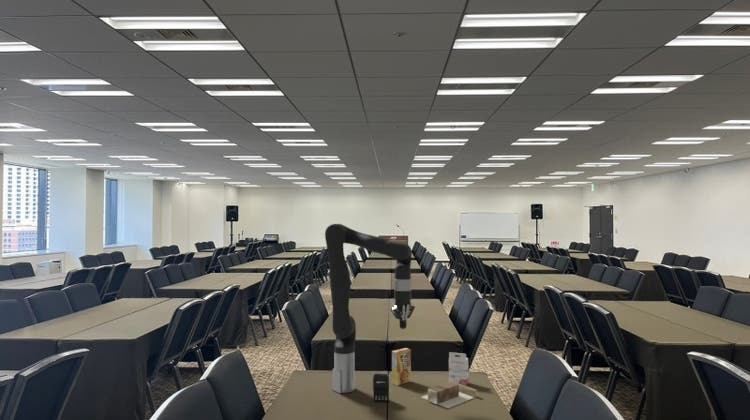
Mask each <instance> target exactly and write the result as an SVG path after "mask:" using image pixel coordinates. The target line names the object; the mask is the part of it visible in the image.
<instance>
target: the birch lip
mask: <svg viewBox="0 0 750 420" xmlns="http://www.w3.org/2000/svg"><path fill="white" fill-rule="evenodd" d="M448 382H453V381H449V380H448ZM453 383H455V384H458V383H456V382H453ZM458 385H459V392H461V393H463V394H466V395H469V396H472V397H474V398H473V399H476V398H478V389H475V388H472V387H469V386H468V385H467V386H464V385H461V384H458Z"/></svg>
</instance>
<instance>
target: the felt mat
mask: <svg viewBox="0 0 750 420" xmlns="http://www.w3.org/2000/svg"><path fill="white" fill-rule="evenodd" d="M421 399H423V400H426V401H428V394H425V395H423V396H421ZM473 399H475V398H474V397H472V396H469V395H466V394H463V393H461V392H459V396H458V397H456V398H453V399H450V400H447V401H445V402H442V403H439V404H437V405H438V406H440V407H443V408H446V409H450V408H452V407H455V406H458V405H461V404H462V403H465V402H468V401H470V400H473Z"/></svg>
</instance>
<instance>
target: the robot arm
mask: <svg viewBox="0 0 750 420" xmlns="http://www.w3.org/2000/svg"><path fill="white" fill-rule="evenodd" d="M324 238H325V245H326V248H327V249H326V250H327V254H328V269H329V270H328V272H329V286H330V296H331V303H332V330H333V331H332V332H333V333H334V335H335V342H334V348H333V351H334V353H333V354H334V355H333V358H334V360H333V361H334V362H333V363H334V364H333V365H334V366H333V367H334V368H332V372H331V373H332V374H331V375H332V377H331V378H332V391H334V392H336V393H339V394H345V393H346V394H347V393H351V392H354V391H355V387H356V386H355V385H356V383H355V366H356V365H355V364H356V363H355V347H356V342H357V341H356V338H357V337H356V335H357V334H356V331H357V326H356V325H357V324H356V321H355V318H354V317H352V316H351V315H350V307H349V303H350V295H351V274H350V269H349V267H348V262H347V261H346V257H345V253H344V244H347V245H349V244H350V245H354V246H357V247H360V248H362V249H365V250H367V251H369V252H373V253H377V254H380V255H385V256H387V257H390V258H392V259H395V261H396V264H395V265H396V266H395V268H394V285H393V287H394V289H393V290H394V291H393V293H394V294H393V295H394V297H393V298H394V301H395V302H394V307H392V308H391V309H390V311H391V313H392V315H393V316H394V317H395V319H397V320H399V328H400V329H401V330H405V329H407V320H408V319H410V318H411V316H412V314H413V312H414V310H415V308H416V306H415V305H413V304H412V302H411V300H412V274H411V272H412V271H411V265H412V255H413V252H412V248H411V246H410V245H409V244H407V243H398V242H393V241H391V240H389V239H387V238H383V237H380V236H375V235H371V234H367V233H362V232H359V231H357V230H354V229H352V228H350V227H348V226H346V225H343V224H341V223H331V224H330V225H328V226H327V227H326V229H325V231H324Z"/></svg>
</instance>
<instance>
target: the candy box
mask: <svg viewBox="0 0 750 420" xmlns="http://www.w3.org/2000/svg"><path fill="white" fill-rule="evenodd" d="M411 381H412V349H410V348H408V347H404V348H400V349H396V350H391V383H392V385H395V386H401V385H404V384H406V383H409V382H411Z"/></svg>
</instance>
